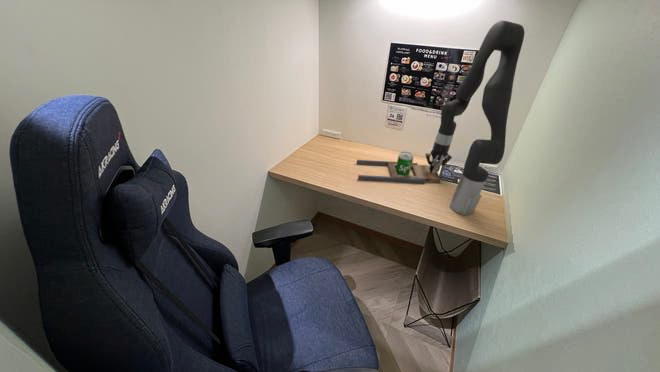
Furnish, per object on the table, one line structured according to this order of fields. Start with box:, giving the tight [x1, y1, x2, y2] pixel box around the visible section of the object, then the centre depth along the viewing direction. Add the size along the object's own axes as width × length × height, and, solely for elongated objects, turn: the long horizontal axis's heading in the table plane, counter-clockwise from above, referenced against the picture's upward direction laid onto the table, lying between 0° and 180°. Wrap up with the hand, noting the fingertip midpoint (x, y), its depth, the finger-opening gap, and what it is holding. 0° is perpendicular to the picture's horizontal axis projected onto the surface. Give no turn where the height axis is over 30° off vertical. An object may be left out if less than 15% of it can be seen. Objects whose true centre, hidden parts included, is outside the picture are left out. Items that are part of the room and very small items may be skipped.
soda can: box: [395, 151, 414, 176], centre depth 136 cm, size 8×8×12 cm
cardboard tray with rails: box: [387, 160, 442, 184], centre depth 137 cm, size 25×14×8 cm, turn 88°
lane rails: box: [356, 159, 426, 185], centre depth 139 cm, size 34×17×2 cm, turn 88°
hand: (433, 171), depth 138 cm, fingers closed on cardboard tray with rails, 2 cm apart
